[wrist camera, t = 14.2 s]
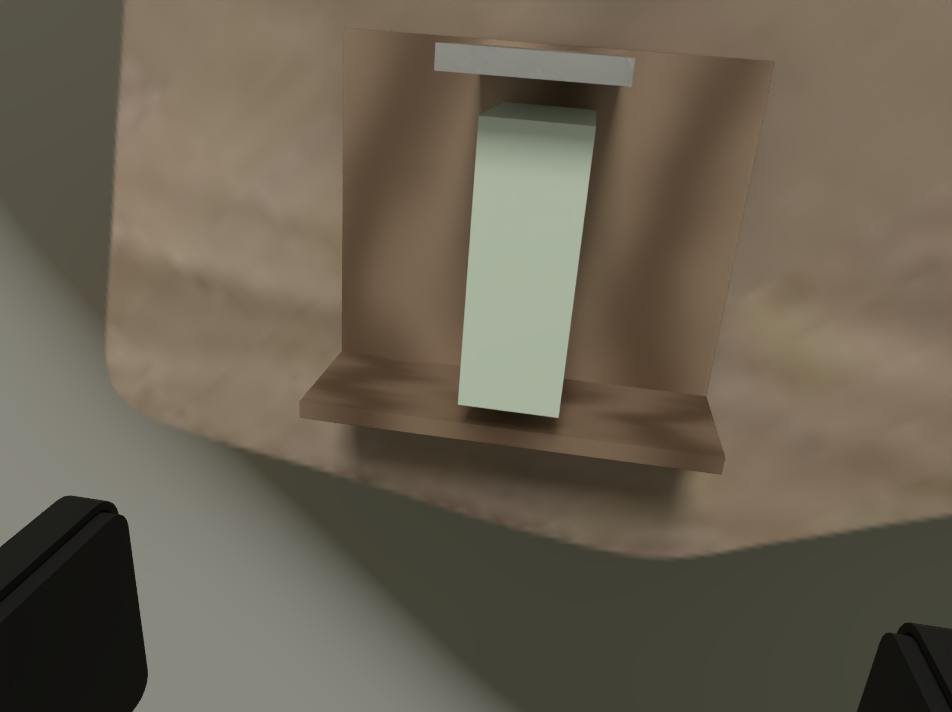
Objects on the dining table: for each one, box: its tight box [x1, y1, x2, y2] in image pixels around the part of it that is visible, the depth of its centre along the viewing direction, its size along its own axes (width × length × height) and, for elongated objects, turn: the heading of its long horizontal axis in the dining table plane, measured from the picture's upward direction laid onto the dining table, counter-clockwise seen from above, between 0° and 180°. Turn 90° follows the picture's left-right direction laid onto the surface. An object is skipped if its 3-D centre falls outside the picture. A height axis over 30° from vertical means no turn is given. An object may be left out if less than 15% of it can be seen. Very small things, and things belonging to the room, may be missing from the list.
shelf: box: [300, 28, 775, 475], centre depth 31 cm, size 18×16×12 cm
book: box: [458, 102, 596, 418], centre depth 32 cm, size 4×11×8 cm, turn 176°
